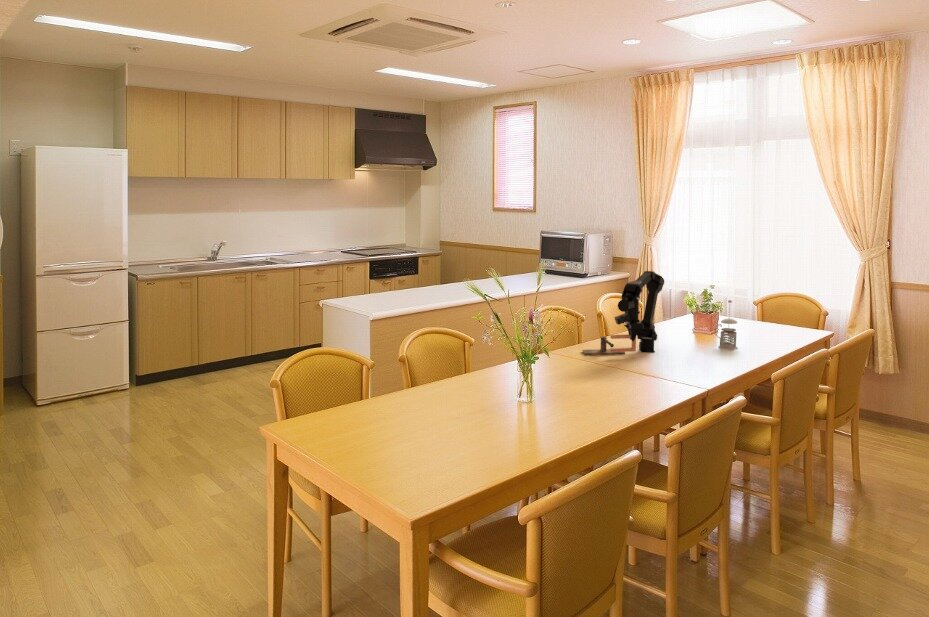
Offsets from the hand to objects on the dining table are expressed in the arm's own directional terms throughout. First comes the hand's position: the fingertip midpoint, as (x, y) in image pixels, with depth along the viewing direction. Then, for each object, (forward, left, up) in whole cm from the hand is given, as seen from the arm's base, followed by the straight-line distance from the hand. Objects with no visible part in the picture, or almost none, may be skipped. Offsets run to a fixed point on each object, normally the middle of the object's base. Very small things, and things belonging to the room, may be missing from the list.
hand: (631, 340), depth 345 cm
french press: (-55, -17, -9) cm, 58 cm away
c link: (+4, 0, -5) cm, 7 cm away
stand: (+11, -4, -9) cm, 15 cm away
